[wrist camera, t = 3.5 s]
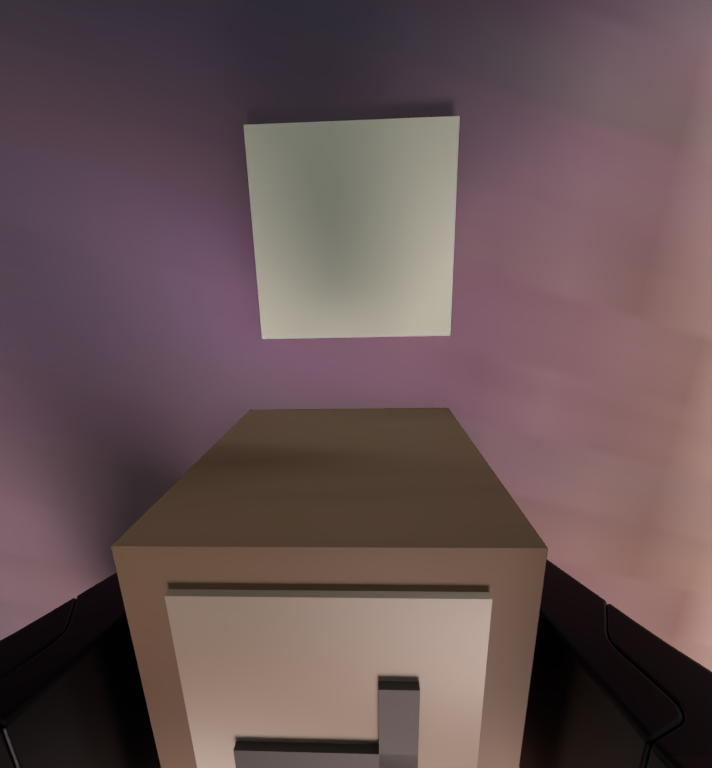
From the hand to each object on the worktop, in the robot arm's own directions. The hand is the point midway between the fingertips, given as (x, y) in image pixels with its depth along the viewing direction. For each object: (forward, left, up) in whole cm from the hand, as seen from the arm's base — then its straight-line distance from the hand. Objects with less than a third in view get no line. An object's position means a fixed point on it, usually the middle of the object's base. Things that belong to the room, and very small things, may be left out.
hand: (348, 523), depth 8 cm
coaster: (+8, 0, -10) cm, 13 cm away
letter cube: (0, 0, -1) cm, 1 cm away
